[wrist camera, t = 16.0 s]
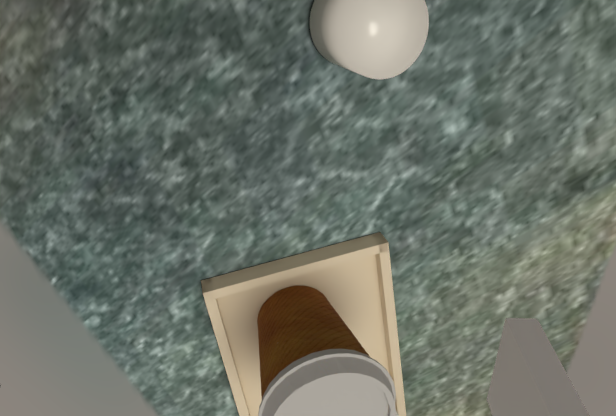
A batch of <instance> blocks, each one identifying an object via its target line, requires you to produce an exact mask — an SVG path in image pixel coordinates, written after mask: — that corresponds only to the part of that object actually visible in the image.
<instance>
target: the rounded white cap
mask: <svg viewBox="0 0 616 416" xmlns="http://www.w3.org/2000/svg"><path fill="white" fill-rule="evenodd" d="M428 27H429V17H428V10H427V6H426V3H425V1H424V0H315V1H314V3H313V6H312V9H311V14H310V32H311V37H312V40H313V42H314V45H315V47H316V48H317V50H318V51H319V53H320V54H321V55H322V56H323V57H324V58H325V59H327V60H328V61H329V62H331V63H333V64H336V65H338V66H341V67H343V68H346V69H348V70H351V71H353V72H355V73H358V74H360V75H363V76H365V77H368V78H372V79H387V78H391V77H394V76H396V75H399V74H400V73H402V72H404V71H405V70H406V69H408V68H409V67H410V66H411V65H412V64H413V63H414V62H415V60H416V59H417V58H418V56H419V55H420V53H421V51H422V49H423V47H424V44H425V42H426V38H427V34H428Z"/></svg>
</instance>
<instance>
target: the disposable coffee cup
mask: <svg viewBox="0 0 616 416" xmlns="http://www.w3.org/2000/svg"><path fill="white" fill-rule="evenodd" d="M257 324H258V340H259V359H260V378H261V396H262V401H261V404H260V406H259V413H258V416H395V415H396V408H395V400H396V391H395V386H394V382H393V380H392V378H391V376H390V374H389V373H388V371H387V370H386V369H385V367H383V366H382V365H381V364H380V363H379V362H378V361H376V360H374V359H372V358H371V357H370V356H369V354H368V353H367V352H366V351H365V349H364V348H363V347H362V346H361V344H360V343H359V342H358V340H357V338H356V337H355V336H354V334H353V333H352V332H351V330H350V329H349V328H348V326H347V325H346V324H345V322H344V321H343V320H342V318H341V317H340V316H339V314H338V313H337V312H336V310H335V309H334V308H333V306H332V305H331V304H330V302H329V301H328V300H327V298H326V297H325V296H324V294H323V293H321V292H320V291H318V290H317V289H315V288H312V287H309V286H298V285H297V286H290V287H287V288H284V289H281V290H279V291H277V292H276V293H274V294H273V295H272V296H270V297H269V298H268V299H267V300H266V301H265V303H264V304H263V305H262V307H261V309H260V311H259V314H258V319H257Z"/></svg>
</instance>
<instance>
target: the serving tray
mask: <svg viewBox="0 0 616 416" xmlns="http://www.w3.org/2000/svg"><path fill="white" fill-rule="evenodd" d="M201 285H202V292H203V296H204V299H205V303H206V306H207V309H208V313H209V316H210V319H211V323H212V326H213V329H214V333H215V336H216V339H217V343H218V346H219V349H220V353H221V356H222V359H223V363H224V366H225V369H226V372H227V376H228V379H229V382H230V386H231V389H232V392H233V396H234V399H235V402H236V406H237V409H238V412H239V416H258V413H259V406H260V404H261V401H262V396H261V378H260V359H259V340H258V324H257V319H258V314H259V311H260V309H261V307H262V305H263V304H264V303H265V301H266V300H267V299H268V298H269V297H270V296H272V295H273V294H274V293H276V292H277V291H279V290H281V289H284V288H287V287H290V286H297V285H298V286H309V287H312V288H315V289H317V290H318V291H320V292H321V293H323V294H324V296H325V297H326V298H327V300H328V301H329V302H330V304H331V305H332V306H333V308H334V309H335V310H336V312H337V313H338V314H339V316H340V317H341V318H342V320H343V321H344V322H345V324H346V325H347V326H348V328H349V329H350V330H351V332H352V333H353V334H354V336H355V337H356V338H357V340H358V342H359V343H360V344H361V346H362V347H363V348H364V349H365V351H366V352H367V353H368V354H369V356H370V357H371V358H372V359H374V360H376V361H378V362H379V363H380V364H381V365H382V366H383V367H385V369H386V370H387V371H388V373H389V374H390V376H391V378H392V380H393V382H394V386H395V391H396V400H395V408H396V411H397V413H398V415H399V416H406V409H405V400H404V390H403V380H402V371H401V361H400V351H399V342H398V332H397V322H396V313H395V303H394V293H393V284H392V274H391V264H390V255H389V245H388V241H387V240H386V239H385V238H384V236H383V235H382V234H381V233H380V232H378V233H375V234H371V235H367V236H364V237H360V238H356V239H353V240H349V241H345V242H342V243H338V244H334V245H330V246H327V247H323V248H319V249H316V250H312V251H308V252H305V253H301V254H297V255H294V256H290V257H286V258H283V259H279V260H275V261H271V262H268V263H264V264H260V265H257V266H253V267H249V268H246V269H242V270H238V271H235V272H231V273H227V274H224V275H220V276H216V277H212V278H209V279H205V280H201Z"/></svg>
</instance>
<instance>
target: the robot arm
mask: <svg viewBox="0 0 616 416" xmlns="http://www.w3.org/2000/svg"><path fill="white" fill-rule="evenodd" d="M0 386H1V385H0ZM487 401H488V404H489V407H490V410H491V413H492V416H589V414H588V412H587V410H586V408H585V406H584V404H583V403H582V401H581V399H580V397H579V395H578V393H577V392H576V390H575V388H574V386H573V384H572V382H571V380H570V379H569V377H568V375H567V373H566V371H565V369H564V368H563V366H562V364H561V362H560V360H559V358H558V356H557V355H556V353H555V351H554V349H553V347H552V345H551V344H550V342H549V340H548V338H547V336H546V334H545V332H544V331H543V329H542V327H541V325H540V323H539V321H538V320H537V319H525V318H506V319H505V324H504V328H503V332H502V336H501V341H500V345H499V349H498V354H497V358H496V362H495V366H494V371H493V375H492V379H491V383H490V388H489V392H488V396H487Z"/></svg>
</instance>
